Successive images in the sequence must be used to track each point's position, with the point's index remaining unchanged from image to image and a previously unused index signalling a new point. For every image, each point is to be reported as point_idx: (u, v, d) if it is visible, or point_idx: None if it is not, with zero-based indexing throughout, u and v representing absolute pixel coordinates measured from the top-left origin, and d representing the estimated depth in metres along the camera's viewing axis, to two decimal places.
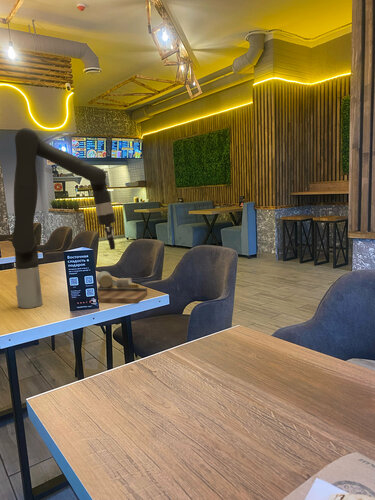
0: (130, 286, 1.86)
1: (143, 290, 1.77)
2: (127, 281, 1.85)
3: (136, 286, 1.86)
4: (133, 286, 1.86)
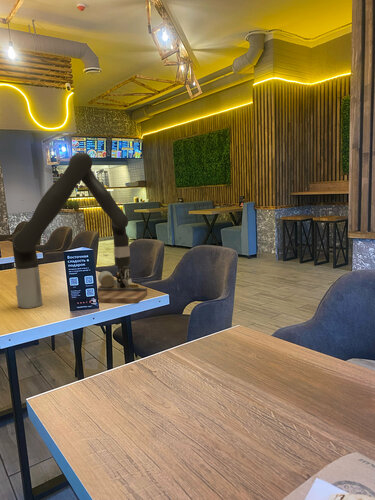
0: (130, 286, 1.86)
1: (143, 290, 1.77)
2: (127, 281, 1.85)
3: (136, 286, 1.86)
4: (133, 286, 1.86)
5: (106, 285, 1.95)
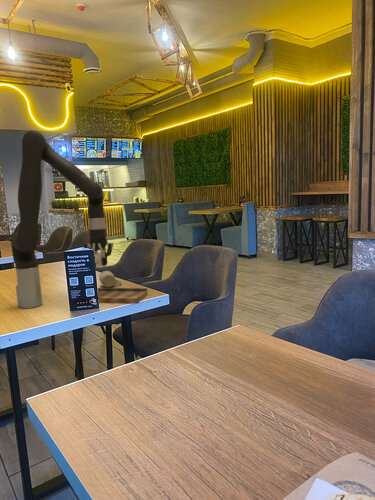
0: None
1: (143, 290, 1.77)
2: None
3: None
4: None
5: (107, 285, 1.95)
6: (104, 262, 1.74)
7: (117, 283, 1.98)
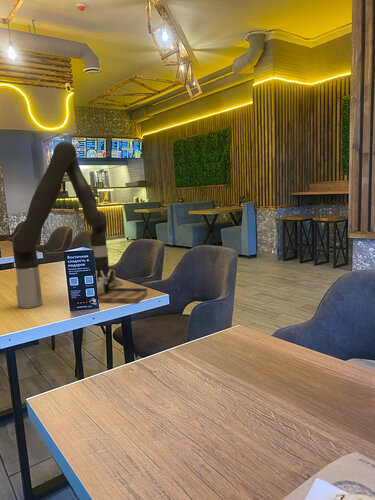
0: None
1: (143, 290, 1.77)
2: None
3: None
4: None
5: None
6: (106, 289, 1.76)
7: (118, 283, 1.98)
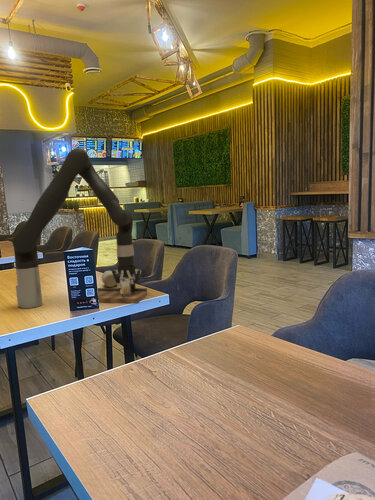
0: None
1: (143, 290, 1.77)
2: None
3: None
4: None
5: (109, 285, 1.96)
6: (132, 289, 1.73)
7: None
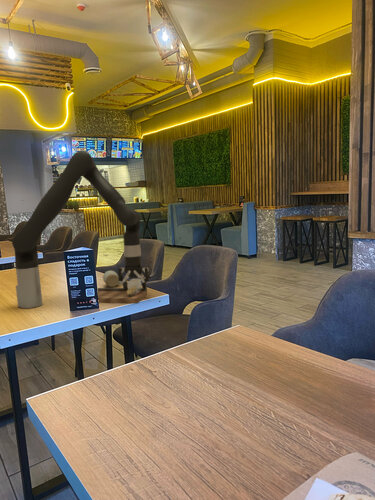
0: None
1: None
2: None
3: None
4: None
5: (111, 284, 1.96)
6: (143, 287, 1.72)
7: (121, 283, 1.99)
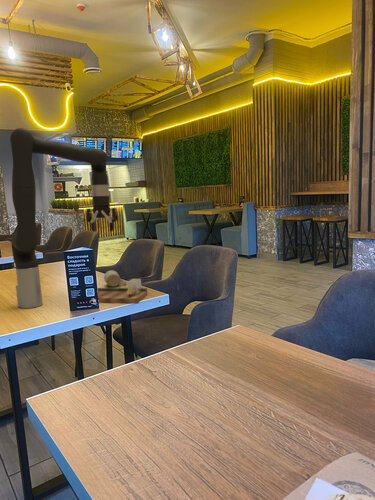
0: None
1: (143, 290, 1.77)
2: None
3: None
4: None
5: (112, 284, 1.96)
6: (111, 227, 1.73)
7: (122, 282, 1.99)
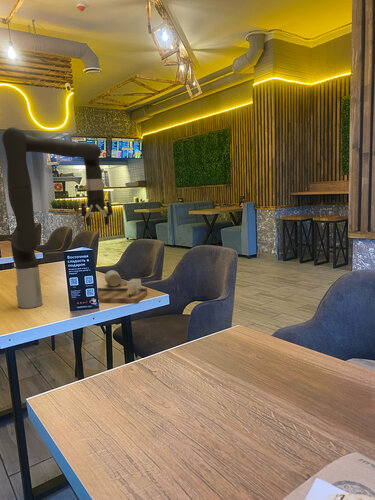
0: None
1: (143, 290, 1.77)
2: None
3: None
4: None
5: (113, 284, 1.96)
6: (106, 221, 1.74)
7: (122, 282, 1.99)
